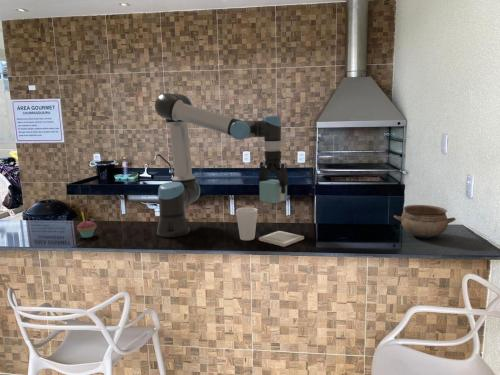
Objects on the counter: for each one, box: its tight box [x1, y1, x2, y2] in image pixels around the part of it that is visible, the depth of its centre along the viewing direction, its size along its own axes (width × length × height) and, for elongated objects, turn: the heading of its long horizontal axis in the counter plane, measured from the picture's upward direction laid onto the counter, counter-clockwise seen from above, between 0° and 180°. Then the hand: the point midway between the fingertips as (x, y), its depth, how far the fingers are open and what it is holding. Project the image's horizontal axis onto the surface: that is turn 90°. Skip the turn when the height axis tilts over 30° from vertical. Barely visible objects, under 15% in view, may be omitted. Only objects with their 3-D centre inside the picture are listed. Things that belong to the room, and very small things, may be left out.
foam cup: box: [235, 207, 259, 241], centre depth 179 cm, size 10×9×13 cm
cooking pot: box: [393, 204, 457, 240], centre depth 176 cm, size 25×19×12 cm
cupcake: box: [76, 212, 98, 239], centre depth 187 cm, size 9×8×12 cm
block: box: [258, 178, 288, 204], centre depth 186 cm, size 9×9×9 cm
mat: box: [258, 230, 305, 248], centre depth 177 cm, size 14×14×1 cm
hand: (273, 199), depth 187 cm, fingers closed on block, 9 cm apart
